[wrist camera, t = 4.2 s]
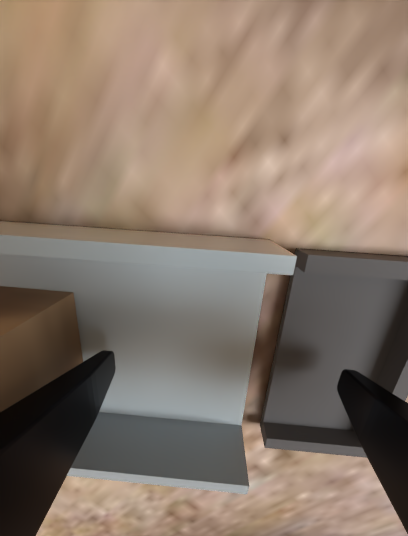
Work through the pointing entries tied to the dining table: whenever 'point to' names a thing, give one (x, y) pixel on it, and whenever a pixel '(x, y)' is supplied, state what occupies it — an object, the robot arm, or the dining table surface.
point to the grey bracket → (157, 342)
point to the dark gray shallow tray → (335, 346)
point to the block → (35, 340)
